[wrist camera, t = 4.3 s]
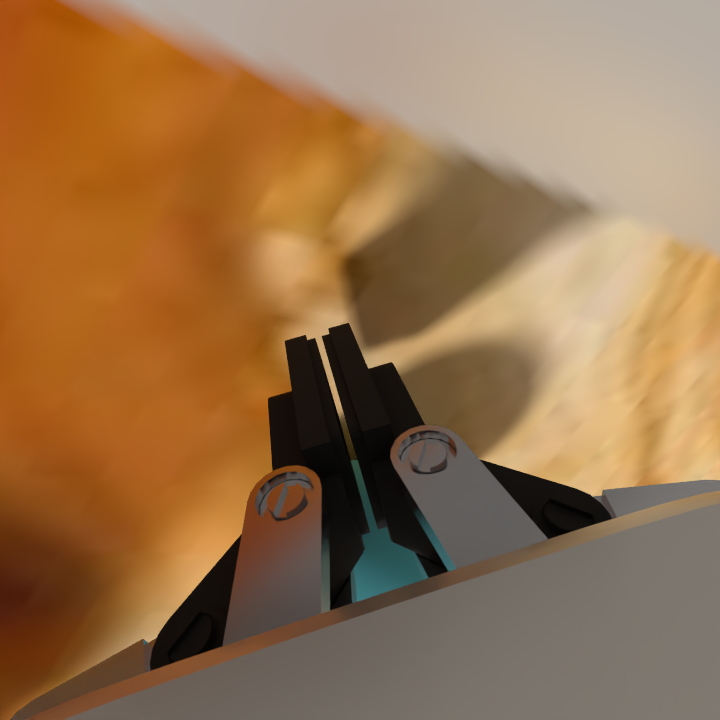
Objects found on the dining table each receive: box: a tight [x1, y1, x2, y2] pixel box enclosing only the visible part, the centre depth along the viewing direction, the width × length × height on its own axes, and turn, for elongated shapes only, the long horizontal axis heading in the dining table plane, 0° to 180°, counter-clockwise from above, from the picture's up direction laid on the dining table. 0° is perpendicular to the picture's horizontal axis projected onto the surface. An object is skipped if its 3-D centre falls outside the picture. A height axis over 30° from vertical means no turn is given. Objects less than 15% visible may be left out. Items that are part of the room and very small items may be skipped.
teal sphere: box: [351, 460, 424, 602], centre depth 14 cm, size 6×6×6 cm
